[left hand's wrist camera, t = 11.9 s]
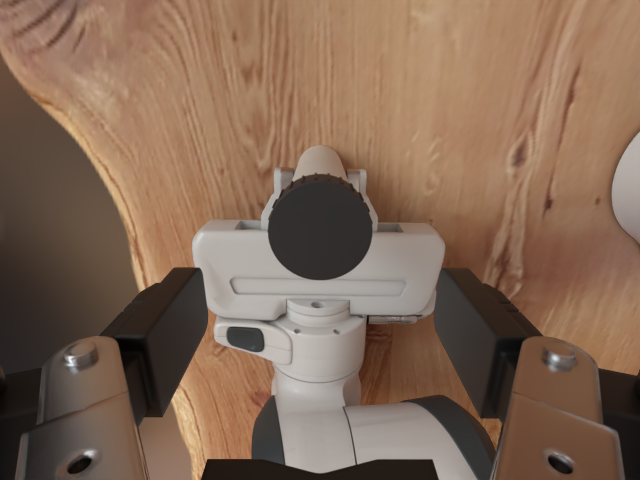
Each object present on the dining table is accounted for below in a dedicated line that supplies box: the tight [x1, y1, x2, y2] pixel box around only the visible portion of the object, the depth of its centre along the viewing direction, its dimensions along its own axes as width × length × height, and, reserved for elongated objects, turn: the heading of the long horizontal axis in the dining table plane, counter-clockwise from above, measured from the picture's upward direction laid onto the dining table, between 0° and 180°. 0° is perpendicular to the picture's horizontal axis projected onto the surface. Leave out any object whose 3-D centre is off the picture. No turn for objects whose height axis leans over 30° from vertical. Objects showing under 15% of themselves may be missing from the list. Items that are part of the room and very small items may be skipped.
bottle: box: [292, 145, 349, 183], centre depth 25 cm, size 4×4×18 cm
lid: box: [267, 173, 373, 280], centre depth 17 cm, size 5×5×2 cm
